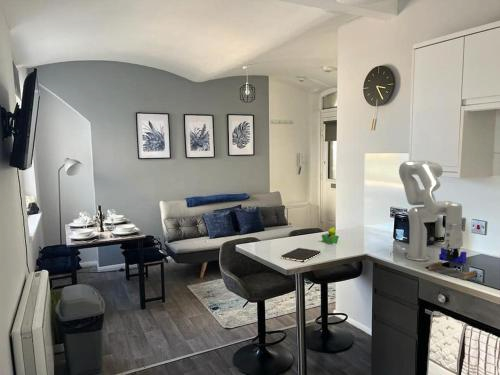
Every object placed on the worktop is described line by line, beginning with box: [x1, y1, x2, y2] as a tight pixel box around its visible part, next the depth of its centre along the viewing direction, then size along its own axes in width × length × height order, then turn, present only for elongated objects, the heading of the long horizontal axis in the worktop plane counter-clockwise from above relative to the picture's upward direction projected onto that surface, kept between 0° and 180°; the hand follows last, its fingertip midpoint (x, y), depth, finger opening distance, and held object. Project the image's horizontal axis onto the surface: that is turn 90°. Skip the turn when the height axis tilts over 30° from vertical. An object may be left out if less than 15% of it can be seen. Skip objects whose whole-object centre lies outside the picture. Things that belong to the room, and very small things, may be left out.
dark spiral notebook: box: [281, 247, 321, 261], centre depth 240 cm, size 16×23×2 cm
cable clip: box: [438, 247, 467, 265], centre depth 202 cm, size 12×4×6 cm, turn 34°
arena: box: [427, 261, 478, 281], centre depth 203 cm, size 20×11×3 cm, turn 32°
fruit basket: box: [321, 226, 340, 245], centre depth 273 cm, size 11×9×11 cm
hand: (452, 259), depth 202 cm, fingers closed on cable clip, 4 cm apart
